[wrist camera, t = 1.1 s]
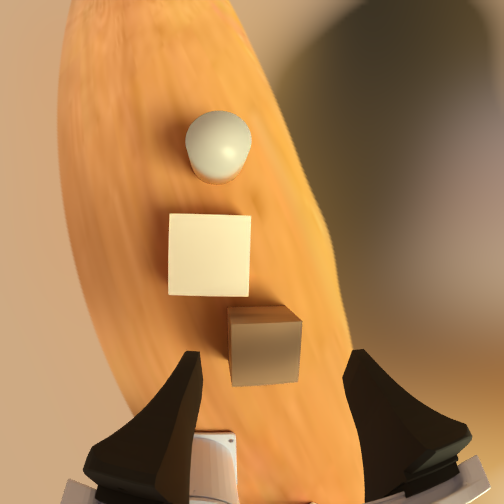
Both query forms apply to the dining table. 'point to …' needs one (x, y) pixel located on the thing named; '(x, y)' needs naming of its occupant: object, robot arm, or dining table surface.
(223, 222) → the cream block
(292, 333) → the walnut cube
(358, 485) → the dining table surface
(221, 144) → the cream smooth round part
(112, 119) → the dining table surface
